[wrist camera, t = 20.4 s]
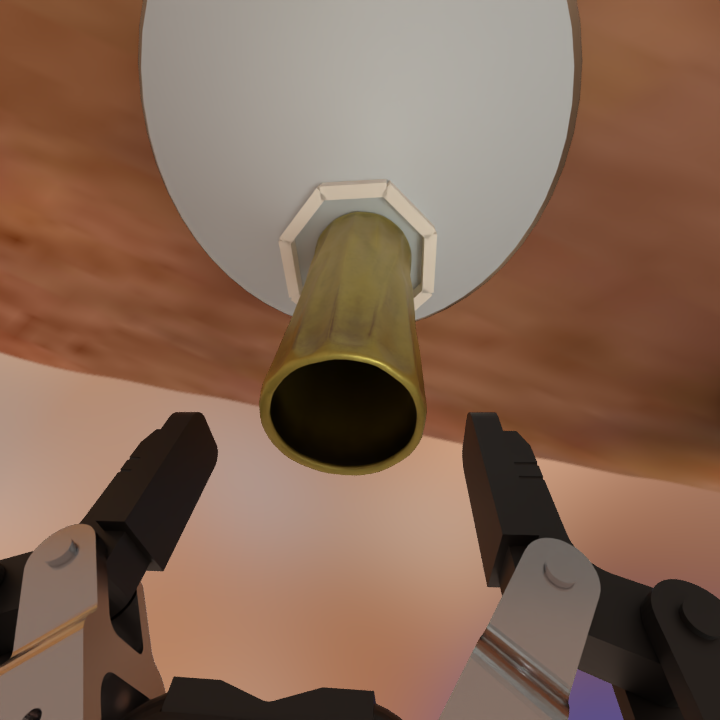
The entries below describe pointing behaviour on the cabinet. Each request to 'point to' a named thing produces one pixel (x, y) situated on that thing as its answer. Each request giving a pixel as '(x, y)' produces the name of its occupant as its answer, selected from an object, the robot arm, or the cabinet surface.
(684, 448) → the cabinet surface
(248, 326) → the cabinet surface
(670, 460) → the cabinet surface
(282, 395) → the vase
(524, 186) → the turntable
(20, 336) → the cabinet surface
